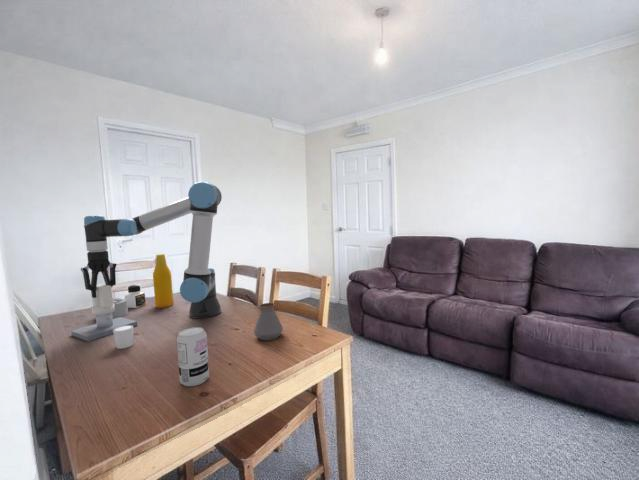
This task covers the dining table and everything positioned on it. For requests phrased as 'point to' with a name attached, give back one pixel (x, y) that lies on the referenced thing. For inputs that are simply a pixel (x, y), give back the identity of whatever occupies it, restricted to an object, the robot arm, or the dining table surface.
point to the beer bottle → (162, 283)
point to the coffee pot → (267, 321)
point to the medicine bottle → (135, 297)
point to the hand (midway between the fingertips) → (102, 303)
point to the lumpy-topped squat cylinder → (120, 307)
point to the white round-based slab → (103, 301)
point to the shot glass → (123, 336)
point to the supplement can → (192, 356)
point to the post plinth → (101, 331)
